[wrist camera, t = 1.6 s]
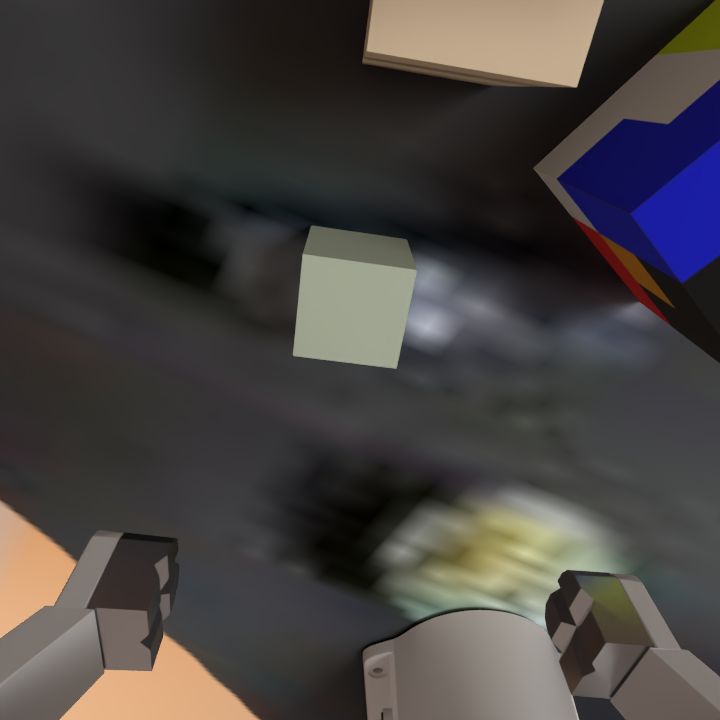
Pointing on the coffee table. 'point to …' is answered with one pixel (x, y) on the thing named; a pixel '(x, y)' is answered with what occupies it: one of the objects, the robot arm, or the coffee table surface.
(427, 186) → the coffee table surface
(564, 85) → the tower mid
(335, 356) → the sage cube
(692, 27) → the puzzle toy
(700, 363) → the coffee table surface
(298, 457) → the coffee table surface
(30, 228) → the coffee table surface
